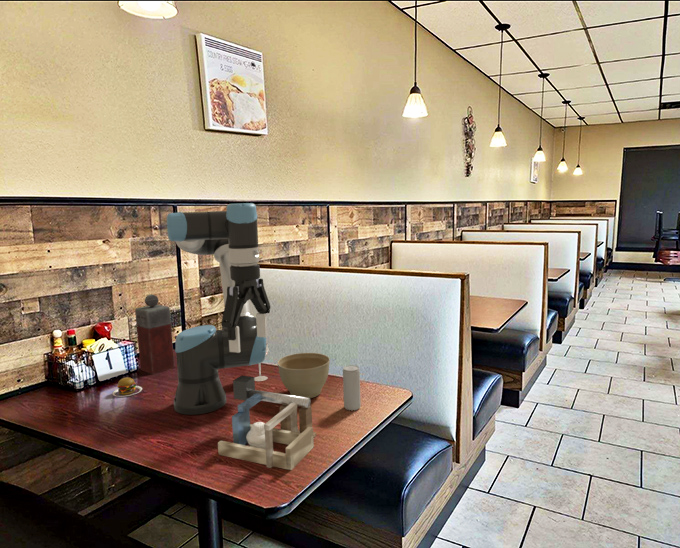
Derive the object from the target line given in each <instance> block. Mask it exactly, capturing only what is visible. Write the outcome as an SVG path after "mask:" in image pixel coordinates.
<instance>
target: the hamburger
mask: <svg viewBox="0 0 680 548" xmlns="http://www.w3.org/2000/svg"><path fill="white" fill-rule="evenodd" d="M136 384H137V383H136V382H135V380H134V379H133V378H131V377H122V378H121V379H120V380H119V381H118V383H117V386H116V387H117V388H116V389H115V390H114V391H112V396H114V397H119V398H123V397H126V398H127V397H130V396H134V395H137V394H138V393H141V392H142V390H143V387H142V386H139V385H136ZM136 389H138V392H135V391H136ZM134 392H135V393H134ZM117 393H119V395H116V394H117Z"/></svg>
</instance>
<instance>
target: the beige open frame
mask: <svg viewBox="0 0 680 548" xmlns="http://www.w3.org/2000/svg"><path fill="white" fill-rule="evenodd" d="M289 414H290V416H291V431H287V430H281V428H275V427H276V426H277V425H279V423H280V422H281V421H282V420H283V419H285V418H286V417H287V416H288V415H289ZM264 423H265V422H264ZM298 423H299V422H298V406H297V403H291V404H290V405H289V406H287V407H286V408H285V409H283V410H282V411H281V412H280V411H279V412H278V413H277V414H276V415H274V416H273V417H272V418H271V419H269V420H268V421H267V422H266V423H265V424H264V430H265V447H266V449H261V448H256V447H251V446H250V445H246V444H245V445H241V444H236V443H234V442H231V441H225V440H219V441H218V442H217V451H218V456H219V455H220V456H224V457H227V458H233V459H237V460H242V461H247V462H251V463H255V464H260V465H265V466H266V468H270V469H273V467H274V468H279V469H283V470H288V471H292V470H293V469H294V468H296V466H297V465H298V464H299V463H301V461H302V460H303V459H304V458H305V457H306V456H307V455H308V454H309V452H310V451H311V450H313V448H314V447H315V444H314V442H315V441H314V438H315V437H314V438H313V432H314V427H313V426H312V427H308V428H307V429H306V430H305V431H303V432H302V433H298V430H299V428H298V427H299V424H298ZM253 424H254V423H250V429H251V427H252V425H253ZM274 443H276V444H277V443H278V444H283V445H287V446H286V447H285V453H284V452H281V451H274Z"/></svg>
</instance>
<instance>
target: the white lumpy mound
mask: <svg viewBox="0 0 680 548" xmlns="http://www.w3.org/2000/svg"><path fill="white" fill-rule="evenodd" d="M252 424H253V425H252V427H251V430H250V431H249V432H248V433H247V436H246V439H247V441H248V442H247V444H248V446H251V447H256V448H261V449H266V447H265V430H264V424H265V422H262V421H257V422H254V423H252Z"/></svg>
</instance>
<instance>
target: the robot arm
mask: <svg viewBox="0 0 680 548" xmlns="http://www.w3.org/2000/svg"><path fill="white" fill-rule="evenodd" d="M258 216H259V215H258V213H257V205H256V204H255V203H253V202H250V203H249V202H246V203H244V202H243V203H229V204H227V206H226V210H219V211H218V210H217V211H212V210H211V211H189V212H187V211H186V212H182V211H178V212H171V213H168V214H167V215H166V229H167V231H166V232H167V238H168V240H169V242H175V244H176V245H177V247H178V248H179V250H182V251H183V252H186V253H189V254H192V255H200V256H211V255H213V258H214V259H215V261H216V262H218V263H219V269H220V278H221V279H220V280H221V287H222V296H223V304H224V309H223V312H222V313H223V314H222V318H221V324H220V326H221V329H217V328H216V326H215V325H212V324H208V325H207V324H205V325H204V324H203V325H197V326H193V327H190V328H187V329H184V330H182V331H181V332H179V333H178V334H177V335H176V337H175V342H174V343H175V348H174V352H175V354H176V356H175V357H176V370H177V379H178V381H177V387H176V391H175V394H174V395H175V397H174V399H173V409H174V411H175V412H176V413H178V414H181V415H194V416H195V415H203V414H208V413H212V412H214V411H217V410H219V409H221V408H222V407H224V406H225V405H226V403H227V395H226V392H225V390H224V387H223V385H222V383H221V380H220V375H219V370H221V369H231V368H239V367H246V366H247V367H248V366H249V367H250V366H252V365H259V364H260V363H263V362H264V361H265V359H266V357H265V354H266V343H267V338H268V329H267V328H268V326H267V314H270V313H271V304H270V301H269V297H268V294H267V292H266V289H265V284H264V279H263V278H261V267H260V266H261V265H260V264H259V261H260V250H259V235H258V233H259V231H258ZM253 307H254V308H255V310H256V312H257V313H256V314H255V315H254V312H253Z"/></svg>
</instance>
